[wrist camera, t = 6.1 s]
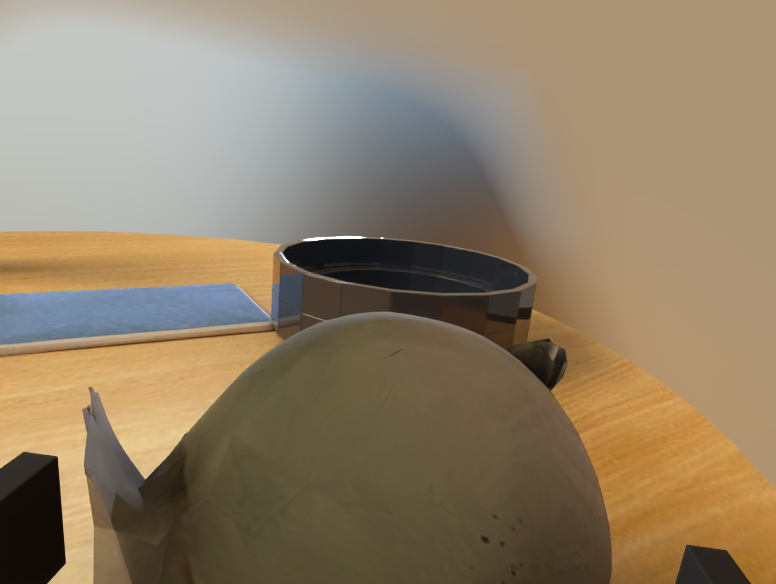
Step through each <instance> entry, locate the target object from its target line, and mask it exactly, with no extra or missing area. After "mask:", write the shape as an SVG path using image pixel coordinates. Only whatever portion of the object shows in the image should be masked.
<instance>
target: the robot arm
mask: <svg viewBox="0 0 776 584" xmlns="http://www.w3.org/2000/svg"><path fill="white" fill-rule="evenodd" d="M65 564H66V558H65V545H64V532H63V520H62V507H61V494H60V481H59V468H58V457H57V456H50V455H43V454H35V453H28V452H23V453H22V454H20V455H19V456H17V457H16V458H15V459H13V460H12V461H10V462H9V463H8V464H6V465H5V466H3V467H2V468H0V584H47V583H48V582H49V581H50V580H51V579H52V578H53V577H54V576H55V575H56V573H57V572H58V571H59V570H60V569H61V568H62V567H63V566H64V565H65ZM676 584H751V583H750V582H749V580H748V579H747V578H746V576H745V575H744V574H743V572H742V571H741V569H740V568H739V567H738V565H737V564H736V563H735V561H734V560H733V559H732V557H731V556H730V554H729V553H728V552H727V550H721V549H713V548H706V547H699V546H692V545H686V548H685V552H684V555H683V559H682V562H681V566H680V570H679V573H678V577H677V580H676Z"/></svg>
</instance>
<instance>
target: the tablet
mask: <svg viewBox="0 0 776 584" xmlns="http://www.w3.org/2000/svg"><path fill="white" fill-rule="evenodd" d="M274 329H275V328H274V326H273V324H272V322H271V317H270V316H269V315H268V314H267V313H266V312H265V311H264V310H263V309H262V308H261V307H260V306H259V305H258V304H257V303H255V302H254V301H253V300H252V299H251V298H250V297H249V296H248V295H247V294H246V293H245V292H244V291H243V290H242V289H241V288H240V287H239V286H238V285H235V284H231V283H224V284H205V285H186V286H166V287H145V288H123V289H102V290H82V291H59V292H38V293H17V294H0V356H10V355H20V354H29V353H39V352H48V351H58V350H68V349H78V348H88V347H99V346H109V345H119V344H130V343H141V342H152V341H163V340H173V339H183V338H193V337H203V336H215V335H226V334H237V333H248V332H261V331H271V330H274Z"/></svg>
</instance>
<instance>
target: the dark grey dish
mask: <svg viewBox="0 0 776 584" xmlns="http://www.w3.org/2000/svg"><path fill="white" fill-rule="evenodd" d="M535 289H536V275H535V274H534V273H533V272H531V271H530V270H528V269H527V268H526V267H524V266H522V265H520V264H517V263H515V262H512V261H510V260H507V259H504V258H501V257H497V256H494V255H490V254H486V253H482V252H479V251H474V250H469V249H464V248H459V247H453V246H448V245H442V244H434V243H427V242H420V241H412V240H400V239H389V238H369V237H330V238H329V237H328V238H316V239H308V240H299V241H295V242H292V243H289V244H285V245H282V246H280V247H279V248H278V249H277V250H276V251H275V253H274V256H273V283H272V309H271V322H272V324H273V326H274V328H275V331H276V333H277V335H278V336H279V337H281V338H282V339H284V340H286V339H288V338H289V337H291V336H293V335H294V334H296V333H298V332H300V331H302V330H304V329H307V328H309V327H311V326H313V325H315V324H317V323H320V322H324V321H327V320H331V319H335V318H339V317H343V316H347V315H353V314H360V313H369V312H394V313H401V314H408V315H414V316H419V317H425V318H429V319H433V320H437V321H442V322H445V323H449V324H452V325H456V326H459V327H462V328H465V329H467V330H470V331H472V332H475V333H477V334H479V335H481V336H483V337H485V338H487V339H488V340H490V341H492V342H493V343H495V344H497V345H498V346H500V347H501V348H503V349H504V350H506V351H507V349H508V347H509V346H512V345H517V344H521V343H526V342H527V336H528V330H529V325H530V318H531V313H532V307H533V301H534V295H535Z"/></svg>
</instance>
